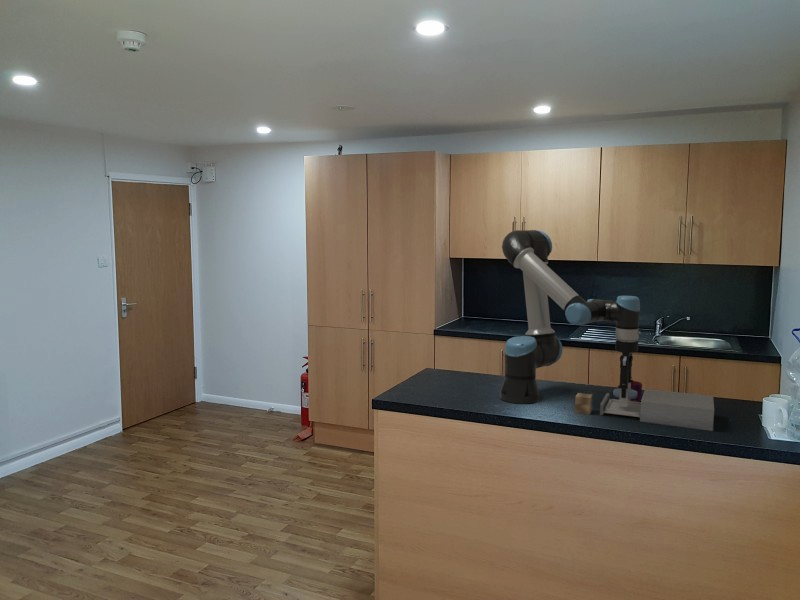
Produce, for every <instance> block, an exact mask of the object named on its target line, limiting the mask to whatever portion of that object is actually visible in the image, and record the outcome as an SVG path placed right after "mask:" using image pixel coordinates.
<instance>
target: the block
mask: <svg viewBox="0 0 800 600" xmlns="http://www.w3.org/2000/svg"><path fill="white" fill-rule="evenodd" d="M574 405H575V406H574V413H575V414H583V415H589V416H590V414H591V413H592V411H593V393H592V394H591V393H582V392H577V394H576V395H575V403H574Z"/></svg>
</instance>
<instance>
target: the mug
mask: <svg viewBox="0 0 800 600" xmlns="http://www.w3.org/2000/svg"><path fill="white" fill-rule="evenodd" d="M629 383H631V389H632V390H635V391H637V398H633V399H630V401H634V402H640V401H641V399H642V396H643V394H642V393H643V392H642V391H643V383H642V382H641V381H636V380H633V382H629Z"/></svg>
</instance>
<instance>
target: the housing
mask: <svg viewBox="0 0 800 600" xmlns="http://www.w3.org/2000/svg"><path fill="white" fill-rule="evenodd" d="M642 393H643V394H642V397H641V407H640V417H639V422H641V423H648V424H655V425H656V424H657V425H663V426H671V427H679V428H687V429H694V430H703V431H710V432H713V431H714V422H715V421H714V420H715V419H714V418H715V403H714V396H713V395H706V394H697V393H687V392H678V391H669V390H668V391H667V390H660V389H658V390H657V389H649V388H645V389H644V391H643V392H642Z"/></svg>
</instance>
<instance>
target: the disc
mask: <svg viewBox="0 0 800 600" xmlns="http://www.w3.org/2000/svg"><path fill="white" fill-rule="evenodd" d="M612 393H613V394H612V395H613V396H614V398H615V397H616V398H617V399H618V398H619V399H620V388H618V387H617V388H614V389H613V392H612ZM633 398H637V391H635V390H632V389H628V399H633Z"/></svg>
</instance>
